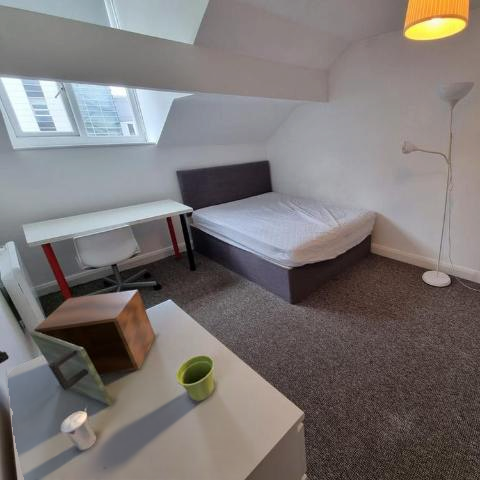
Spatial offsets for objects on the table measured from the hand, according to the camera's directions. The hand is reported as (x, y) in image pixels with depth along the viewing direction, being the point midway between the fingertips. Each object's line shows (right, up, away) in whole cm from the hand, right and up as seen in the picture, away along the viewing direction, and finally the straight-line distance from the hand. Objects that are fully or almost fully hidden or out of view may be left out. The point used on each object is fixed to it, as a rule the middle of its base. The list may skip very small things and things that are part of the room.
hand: (5, 353), depth 59 cm
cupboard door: (+3, -19, +14) cm, 24 cm away
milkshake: (+14, -23, +5) cm, 28 cm away
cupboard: (+2, -13, +28) cm, 31 cm away
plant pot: (+36, -17, +16) cm, 43 cm away
